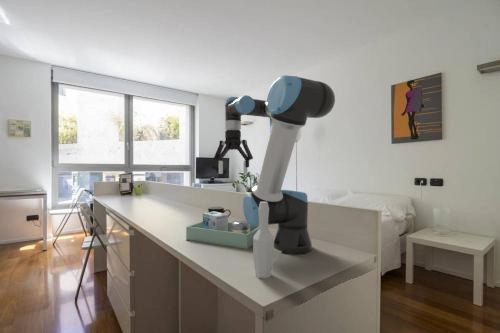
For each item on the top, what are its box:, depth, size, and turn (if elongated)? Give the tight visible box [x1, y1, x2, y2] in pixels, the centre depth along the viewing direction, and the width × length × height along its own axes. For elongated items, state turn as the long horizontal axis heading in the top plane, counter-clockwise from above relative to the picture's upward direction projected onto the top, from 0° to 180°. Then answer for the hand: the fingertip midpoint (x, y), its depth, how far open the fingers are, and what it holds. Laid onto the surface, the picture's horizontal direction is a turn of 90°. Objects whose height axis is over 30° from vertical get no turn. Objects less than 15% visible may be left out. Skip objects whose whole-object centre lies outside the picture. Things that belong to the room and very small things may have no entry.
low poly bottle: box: [252, 202, 275, 279], centre depth 77 cm, size 6×6×22 cm
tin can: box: [230, 219, 250, 234], centre depth 109 cm, size 8×8×8 cm
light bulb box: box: [202, 211, 229, 232], centre depth 115 cm, size 11×7×11 cm, turn 44°
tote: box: [185, 220, 259, 249], centre depth 113 cm, size 30×16×6 cm, turn 65°
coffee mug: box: [207, 205, 232, 218], centre depth 138 cm, size 12×9×10 cm
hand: (232, 174), depth 123 cm, fingers open, 13 cm apart
